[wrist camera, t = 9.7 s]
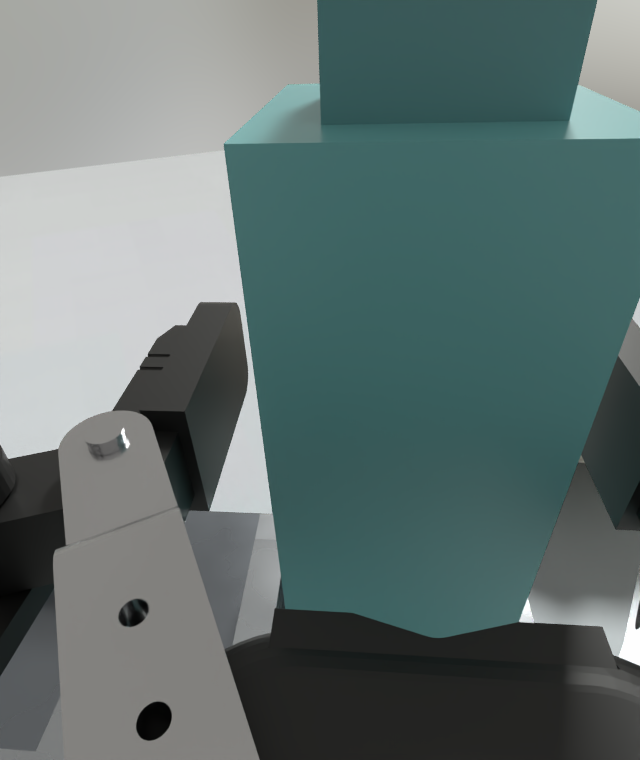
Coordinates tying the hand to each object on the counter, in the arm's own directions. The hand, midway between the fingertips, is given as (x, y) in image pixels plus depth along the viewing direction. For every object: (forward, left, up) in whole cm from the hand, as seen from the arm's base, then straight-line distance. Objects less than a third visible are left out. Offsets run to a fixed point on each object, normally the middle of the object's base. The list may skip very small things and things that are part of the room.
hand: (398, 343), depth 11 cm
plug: (0, -2, -10) cm, 10 cm away
